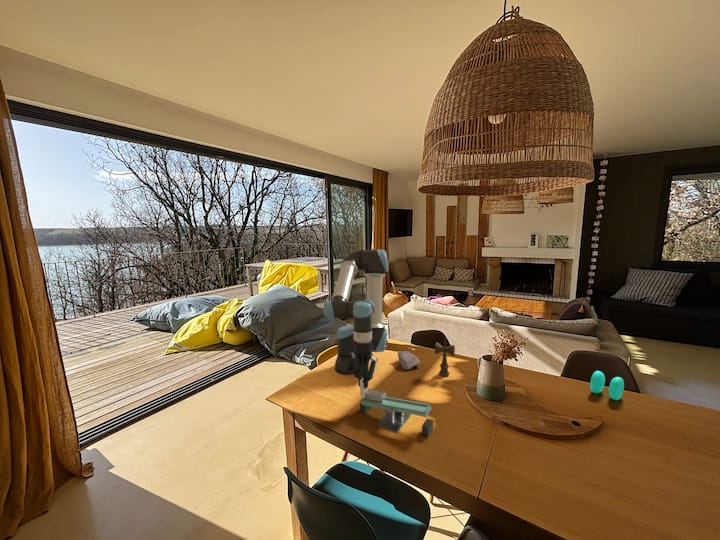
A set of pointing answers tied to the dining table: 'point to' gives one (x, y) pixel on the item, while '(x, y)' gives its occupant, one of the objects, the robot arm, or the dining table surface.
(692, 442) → the dining table surface
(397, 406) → the beam
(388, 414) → the stand
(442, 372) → the kendama
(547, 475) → the dining table surface
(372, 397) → the block
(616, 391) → the teal egg pair
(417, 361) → the decorative stone
